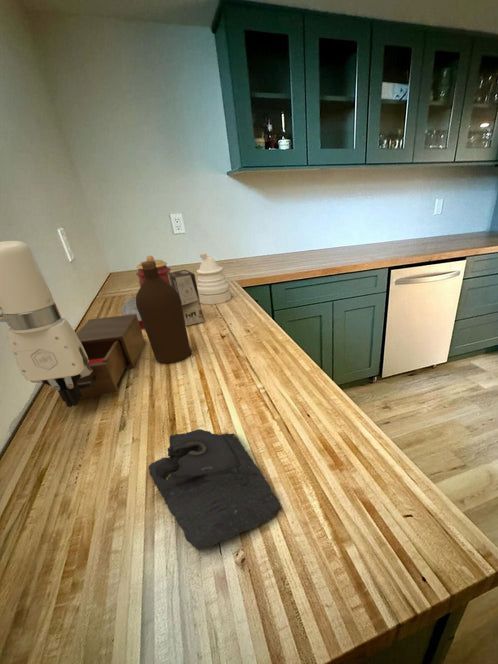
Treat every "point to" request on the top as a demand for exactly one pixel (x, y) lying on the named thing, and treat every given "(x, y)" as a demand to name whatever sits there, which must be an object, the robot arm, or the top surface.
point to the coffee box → (187, 295)
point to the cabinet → (116, 334)
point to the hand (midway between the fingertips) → (75, 402)
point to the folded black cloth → (212, 487)
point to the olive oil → (162, 316)
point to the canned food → (131, 310)
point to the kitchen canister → (160, 266)
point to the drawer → (103, 368)
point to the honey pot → (212, 282)
